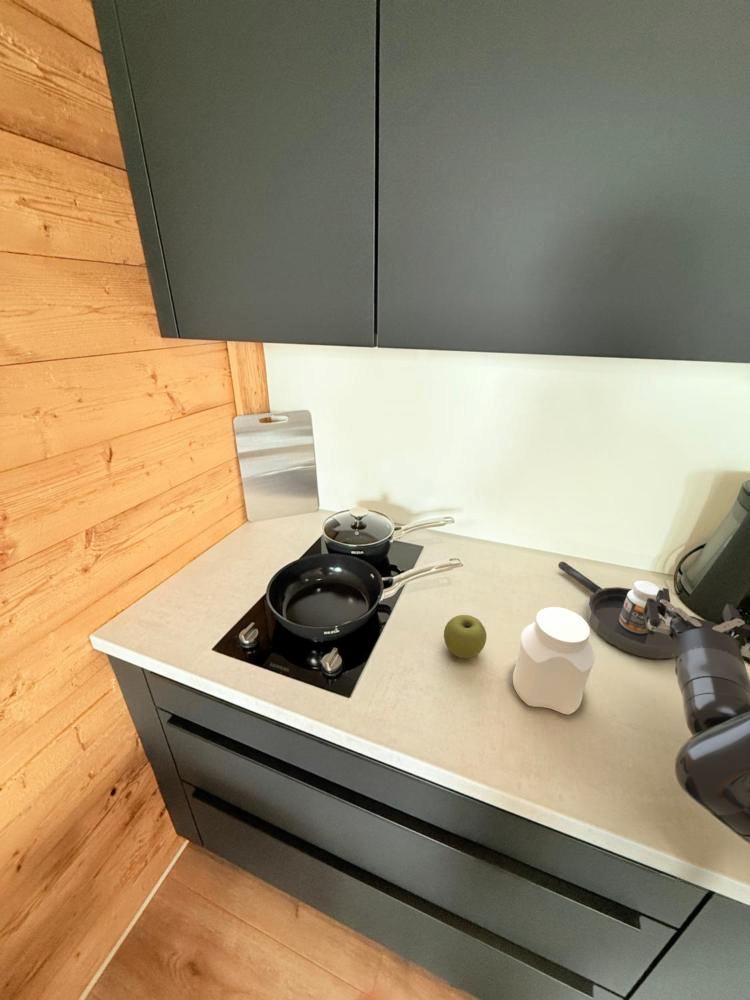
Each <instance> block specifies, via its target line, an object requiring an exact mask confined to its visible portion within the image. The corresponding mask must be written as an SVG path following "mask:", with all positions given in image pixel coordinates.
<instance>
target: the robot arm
mask: <svg viewBox="0 0 750 1000" xmlns="http://www.w3.org/2000/svg"><path fill="white" fill-rule="evenodd" d="M666 611H668V612H669V614H667V613H666ZM643 614H644V620H645V626H646V631H647V633H648V634H650V635H655V634H656V631H657V632H661V633H665V634H668V636H669V637H670V638H671V639H672V641H673V651H674V657H673V658H674V664H675V665H674V666H675V667H674V671H675V672H674V673H675V675H676V679H677V685H678V688H679V690H680V693H681V698H682V699H681V700H682V707H683V712H684V718H685V723H686V727H687V728H688V730H689V733H690V734H691V736H690V737H689V738H687V739H686V740H685V741H684V742H683V744H682V745H681V746H680V748H679V750H678V752H677V753H676V756H675V761H674V774H675V778H676V780H677V782H678V784H679V786H680V787H681V789H682V790H683V792H685V793H686V794H687V796H689V798H690V799H692V800H693V801H694V802H696V803H697V805H699V806H700V807H702V808H703V809H705V810H706V811H707V812H708V813H709V814H710V815H712V816H713V817H714V818H716V819H717V820H718V821H719V822H720V823H721V824H723V825H724V826H725V827H727V829H729V830H730V831H731V832H733V834H735V835H736V836H738V837H739V838H740V839H742V840H743V841H744V842H745V843H747V844H749V845H750V675H749V673H748V669H747V665H746V664H745V663H746V662H745V660H744V657H746V658H748V660H749V661H750V625H748V624H746V622H745V620H743V619H742V617H741V615H740V611H739V610H738V609H737V608H735V607H734V605H733V604H730V603H726V604H725V606H724V608H723V611H722V617H723V621H724V622H722V623H720V624H717V623H716V622H715V621H711V620H705V619H701V618H699V617H696V616H692V615H690V614H688V613H687V612H685V611H684V609H682V608H681V607H675V605H673V604H672V603H671V596H670V591H669V588H665V587H662V589H660V590H659V591H658V593H657V596H656V601H655V600H654V599H652V598H648V599H647V601H646V605H645V608H644V610H643ZM678 618H680V620H678ZM662 619H663V620H664V621H665V623H664V621H663V620H662ZM677 620H678V621H677ZM739 636H740V637H743V638H744V643H745V644H744V645H742V644H741V642H740V641H739V640H738V639H737V638H738V637H739Z"/></svg>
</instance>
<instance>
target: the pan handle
mask: <svg viewBox="0 0 750 1000" xmlns="http://www.w3.org/2000/svg"><path fill="white" fill-rule="evenodd" d="M557 566H558V568H559V569H560V570H561V571H562V572H564V573H565V574H566V575H568V576H569V577H571V578H572V579H573V580H575V581H576V582H577V583H578V584H580V585H582V587H584V588H586V589H587V590H588V591H590V593H592V594H594V593H595V592H596V591H598V590H601V589H603V588H602V587H600V586H599V585H598V584H596V583H595V582H594V581H592V580H590V579H589V578H588V577H587V576H585V575H584V574H582V573H581V572H580V571H578V570H577V569H575V568H573V567H572V566H571V565H570V564H568V563H567V562H565V561H560V562H559V563H558V564H557Z"/></svg>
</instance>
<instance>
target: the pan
mask: <svg viewBox="0 0 750 1000" xmlns="http://www.w3.org/2000/svg"><path fill="white" fill-rule="evenodd" d="M632 589H633V588H628V587H619V586H617V587H616V586H614V587H605V588H602V589H601V590H598V591H596V592H595V593H592V594H591V595H590V597H589V601H588V604H587V606H586V607H587V608H586V612H585V614H586V617H587V621H588V623H589V625H590V626H591V628H592V629H593V630H594V631H595V632H596V633H597V634H598V635H599V636H600V637H601V638H603V639H604V640H605V641H606V642H608V643H610V644H611V645H613V646H615V647H617V648H618V649H620V650H622V651H624V652H626V653H629V654H632V655H636V656H639V657H643V658H649V659H656V660H657V659H659V660H660V659H671V658H674V651H673V641H672V639H671V638H670V637H669V636H668V634H665V633H661V632H657V631H656V634H655V635H650V634H648V633H644V634H638V633H634V632H631V631H629V630H627V629H626V628H624V627H623V626H622V625H621V623H620V621H619V618H620V614H621V611H622V608H623V605H624V602H625V599H626V596H627V594H628V592H629V591H630V590H632ZM666 613H667V614H669V612H668V611H666ZM662 620H663V619H662ZM678 620H680V618H678ZM678 620H677V621H678ZM663 621H664V620H663ZM664 623H665V621H664Z"/></svg>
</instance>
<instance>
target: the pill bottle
mask: <svg viewBox="0 0 750 1000" xmlns="http://www.w3.org/2000/svg"><path fill="white" fill-rule="evenodd" d="M631 589H632V590H630V591H629V592H628V594H627V596H626V599H625V602H624V605H623V608H622V611H621V614H620V618H619V621H620V623H621V625H622V626H623V627H624V628H626V629H627V630H629V631H631V632H634V633H638V634H644V633H647V631H646V626H645V620H644V614H643V610H644V608H645V605H646V601H647V599H648V598H652V599H654V600H655V601H656V596H657V593H658V591H659V590H661V589H660V587H659V586H658V585H656V583H653V582H651V581H647V580H636V581H635V582H634V583H633V586H632V588H631Z"/></svg>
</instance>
